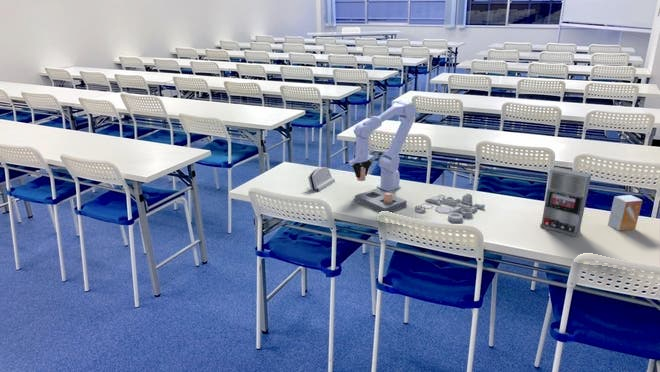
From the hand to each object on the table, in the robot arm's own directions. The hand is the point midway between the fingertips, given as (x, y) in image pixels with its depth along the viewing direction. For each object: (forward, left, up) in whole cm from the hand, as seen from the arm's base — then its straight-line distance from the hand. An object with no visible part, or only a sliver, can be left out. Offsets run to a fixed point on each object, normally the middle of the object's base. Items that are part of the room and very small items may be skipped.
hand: (361, 176), depth 228 cm
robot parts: (-17, +39, -10) cm, 44 cm away
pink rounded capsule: (0, 0, -2) cm, 2 cm away
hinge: (+9, -21, -9) cm, 24 cm away
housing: (+2, +15, -9) cm, 18 cm away
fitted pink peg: (+2, +20, -9) cm, 22 cm away
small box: (-57, +97, -9) cm, 113 cm away
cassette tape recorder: (-35, +82, -9) cm, 90 cm away
